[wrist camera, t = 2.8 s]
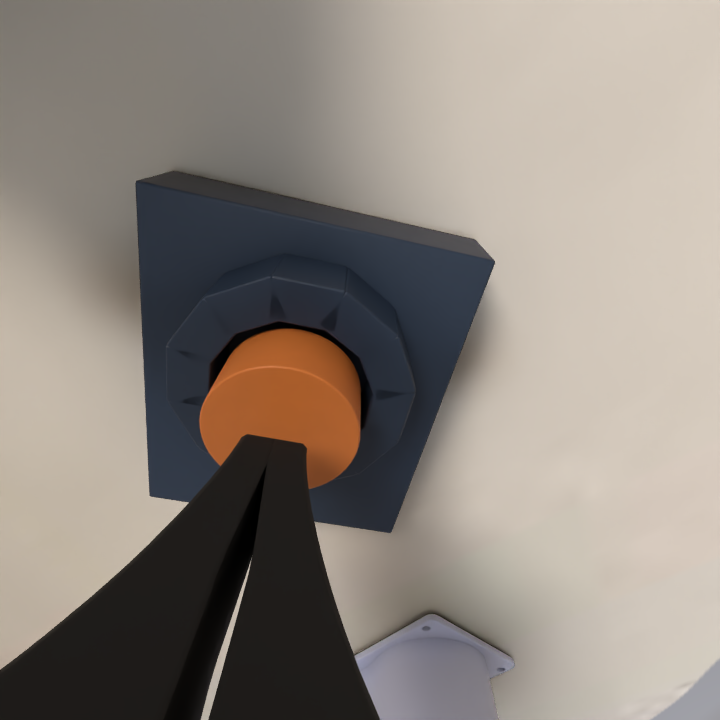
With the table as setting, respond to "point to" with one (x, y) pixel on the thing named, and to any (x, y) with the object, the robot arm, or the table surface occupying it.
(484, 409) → the table surface
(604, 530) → the table surface
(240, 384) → the orange button
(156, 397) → the dark blue button base
